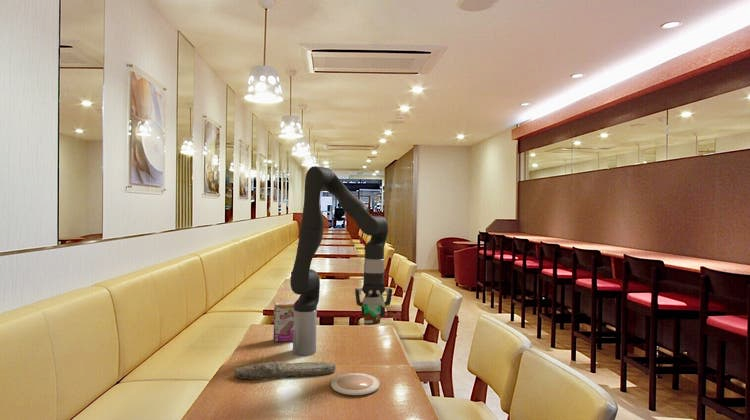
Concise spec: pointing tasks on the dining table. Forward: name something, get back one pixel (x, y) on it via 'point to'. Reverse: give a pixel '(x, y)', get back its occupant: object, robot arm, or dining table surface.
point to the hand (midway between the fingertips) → (372, 316)
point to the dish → (355, 384)
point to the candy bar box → (283, 322)
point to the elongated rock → (283, 370)
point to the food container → (372, 310)
